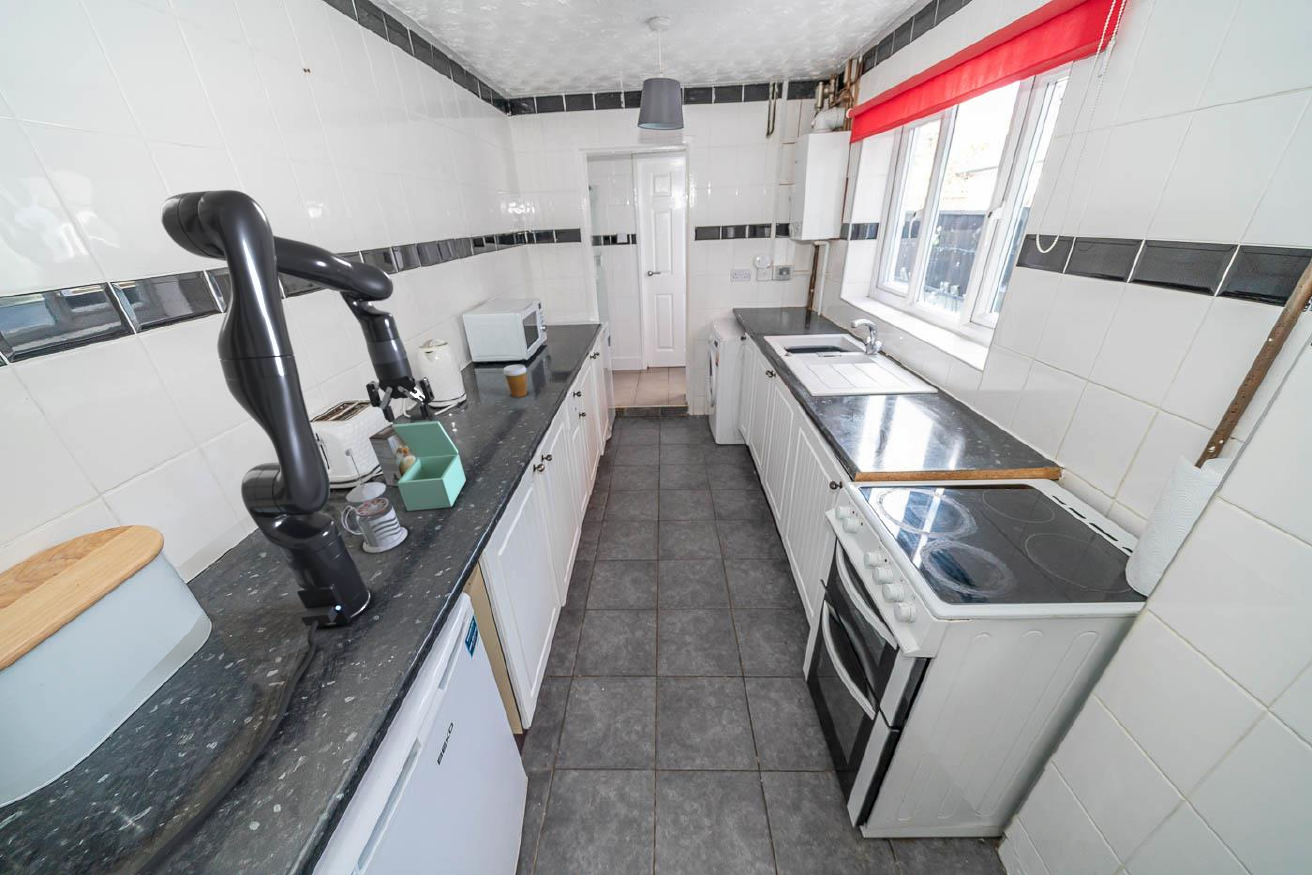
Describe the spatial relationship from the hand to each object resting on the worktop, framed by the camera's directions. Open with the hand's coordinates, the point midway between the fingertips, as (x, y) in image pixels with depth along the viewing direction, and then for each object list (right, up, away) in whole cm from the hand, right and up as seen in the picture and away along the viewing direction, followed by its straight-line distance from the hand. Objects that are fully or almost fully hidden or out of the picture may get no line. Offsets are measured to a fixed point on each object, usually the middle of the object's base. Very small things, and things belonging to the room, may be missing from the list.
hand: (409, 419), depth 114 cm
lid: (0, -6, +9) cm, 10 cm away
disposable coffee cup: (+3, +14, +81) cm, 82 cm away
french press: (-4, -30, -4) cm, 30 cm away
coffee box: (-13, -17, +22) cm, 31 cm away
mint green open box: (+1, -21, +13) cm, 24 cm away
